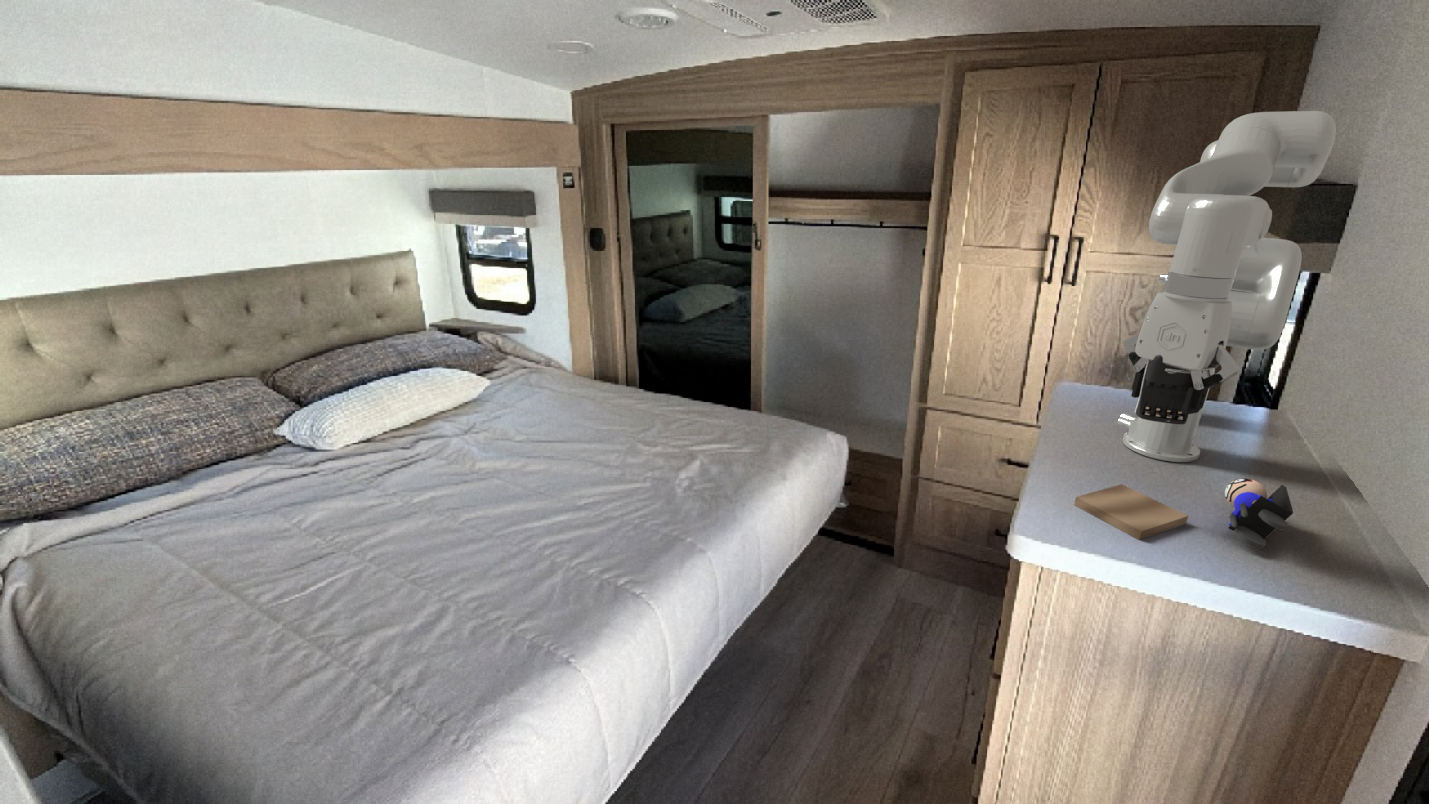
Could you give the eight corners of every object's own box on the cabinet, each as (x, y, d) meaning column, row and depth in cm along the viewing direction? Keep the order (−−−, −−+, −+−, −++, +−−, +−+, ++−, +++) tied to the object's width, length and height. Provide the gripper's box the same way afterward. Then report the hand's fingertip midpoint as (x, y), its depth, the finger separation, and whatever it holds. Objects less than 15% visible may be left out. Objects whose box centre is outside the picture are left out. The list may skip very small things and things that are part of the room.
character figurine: (1220, 548, 94) (1220, 506, 105) (1285, 562, 90) (1277, 518, 101) (1231, 500, 91) (1229, 463, 103) (1298, 513, 87) (1289, 473, 99)
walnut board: (1074, 504, 104) (1076, 496, 104) (1119, 491, 109) (1121, 484, 108) (1139, 539, 95) (1141, 531, 95) (1185, 524, 99) (1188, 515, 99)
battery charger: (1136, 421, 97) (1156, 349, 93) (1132, 413, 100) (1151, 343, 96) (1190, 429, 95) (1213, 355, 91) (1184, 420, 98) (1206, 349, 94)
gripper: (1122, 279, 97) (1094, 389, 103) (1250, 300, 82) (1210, 428, 88) (1153, 277, 100) (1125, 384, 106) (1283, 297, 85) (1241, 421, 91)
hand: (1164, 403), depth 97 cm, fingers closed on battery charger, 7 cm apart
